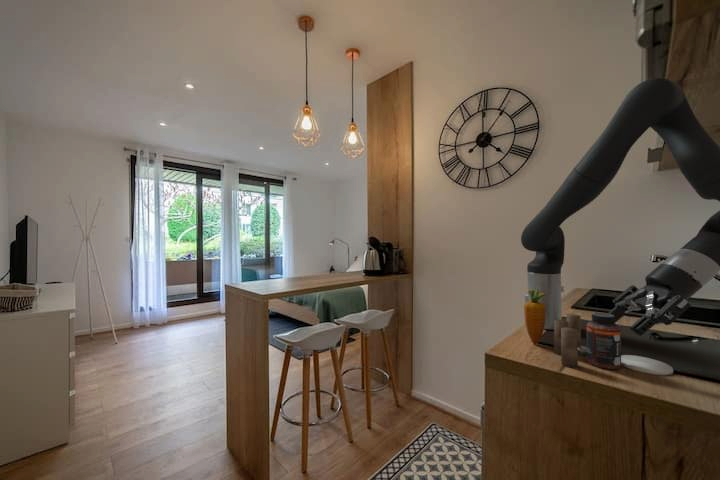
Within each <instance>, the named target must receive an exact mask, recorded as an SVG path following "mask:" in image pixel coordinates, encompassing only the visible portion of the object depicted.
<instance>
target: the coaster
mask: <svg viewBox="0 0 720 480" xmlns="http://www.w3.org/2000/svg"><path fill="white" fill-rule="evenodd" d="M621 367H624V368H626V369H629V370H631V371H632V370H633V371H635V372H638V373H643V374H648V375H654V376H670V375H673V374H674V369H673V367H672V366H671V365H669V364H667V363H665V362H664V361H660V360H657V359H653V358H651V357H650V358H649V357H646V356H639V355H634V354H633V355H631V354H623V355H622V354H621Z"/></svg>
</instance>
